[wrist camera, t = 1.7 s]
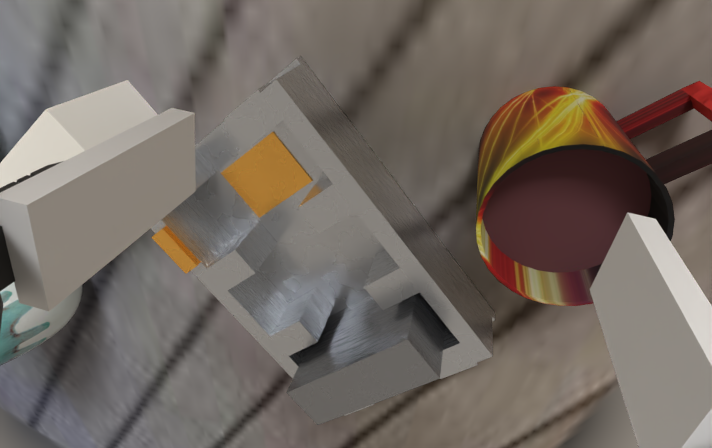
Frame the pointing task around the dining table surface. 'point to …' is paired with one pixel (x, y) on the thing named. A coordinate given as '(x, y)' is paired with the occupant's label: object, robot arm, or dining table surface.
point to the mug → (573, 185)
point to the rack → (323, 253)
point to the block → (75, 129)
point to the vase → (31, 322)
